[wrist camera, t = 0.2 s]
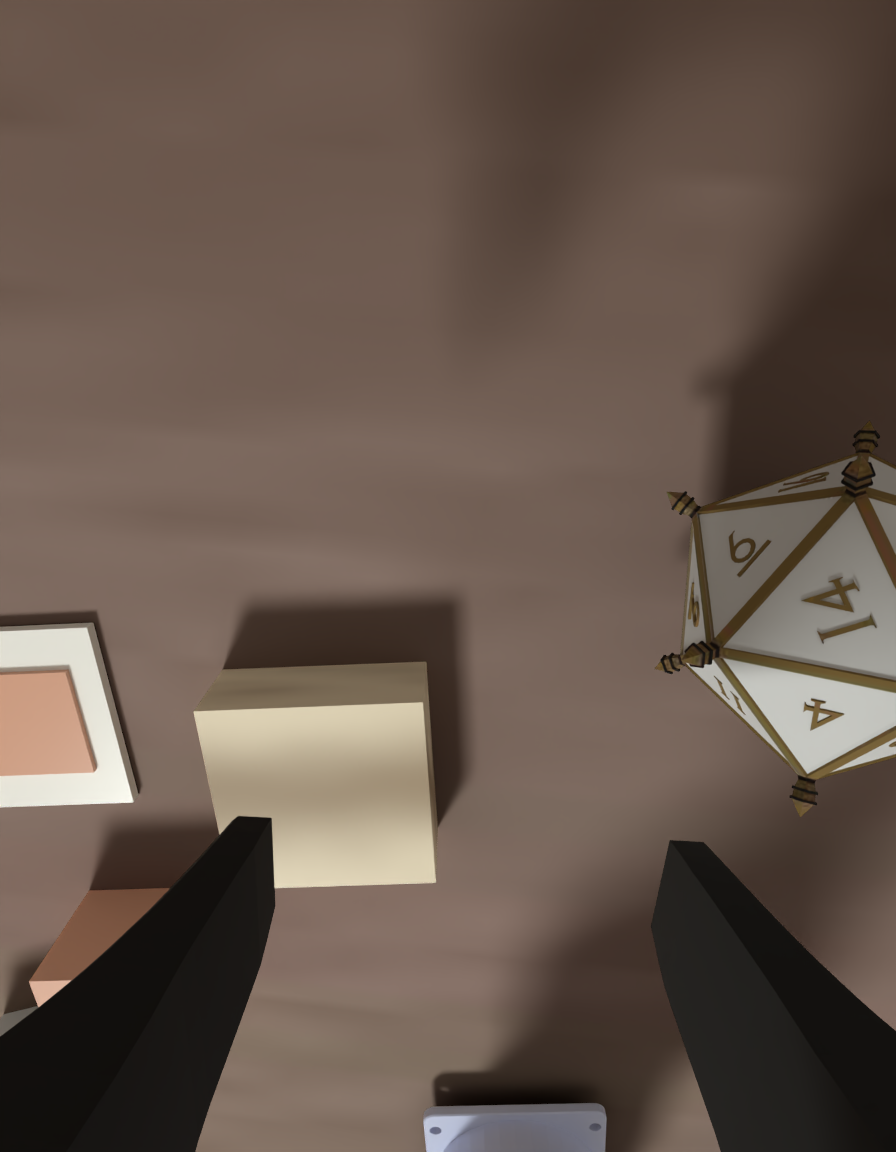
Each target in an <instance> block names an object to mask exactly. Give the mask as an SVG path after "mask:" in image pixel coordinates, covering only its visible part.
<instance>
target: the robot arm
mask: <svg viewBox="0 0 896 1152" xmlns="http://www.w3.org/2000/svg"><path fill="white" fill-rule="evenodd" d="M274 909H275V886H274V861H273V836H272V818H267V817H249V816H237V817H236V818H235V819H234V820H232V821H231V823H230V824H229V825H228V826H227V827H226V828H225V829H224V830H223V832H222V833H221V834H220V835H219V836H218V837H217V838H216V839H215V841H214V842H213V843H212V844H211V845H210V846H209V847H208V848H207V850H206V851H205V852H204V853H203V854H202V855H201V856H200V857H199V858H198V859H197V860H196V862H195V863H194V864H193V865H192V866H191V867H190V868H189V869H188V870H187V871H186V872H185V873H184V874H183V876H182V877H181V878H180V879H179V880H178V881H177V882H176V883H175V884H174V885H173V886H172V887H171V888H170V889H169V890H168V891H167V892H166V893H165V894H164V895H163V896H162V897H161V898H160V899H159V900H158V901H157V902H156V903H155V904H154V905H153V906H152V907H151V908H150V909H149V910H148V911H147V912H146V913H145V914H144V915H143V916H142V917H141V918H140V919H139V920H138V921H137V922H136V923H135V924H134V925H133V926H132V927H130V928H129V929H128V930H127V931H126V932H125V933H124V934H123V935H122V936H121V937H120V938H119V939H118V940H117V941H116V942H115V943H113V944H112V945H111V946H110V947H109V948H108V949H107V950H106V951H105V952H104V953H103V954H102V955H100V956H99V957H98V958H97V959H96V960H95V961H94V962H92V963H91V964H90V965H89V966H88V967H87V968H86V969H84V970H83V971H82V972H81V973H80V974H79V975H77V976H76V977H75V978H74V979H73V980H71V981H70V982H69V983H68V984H67V985H65V986H64V987H63V988H62V989H61V990H59V991H58V992H57V993H56V994H54V995H53V996H52V997H51V998H50V999H48V1000H47V1001H46V1002H45V1003H43V1004H42V1005H41V1006H40V1007H38V1008H37V1009H36V1010H34V1011H33V1012H32V1013H30V1014H29V1015H28V1016H26V1017H25V1018H24V1019H22V1020H21V1021H20V1022H19V1023H17V1024H16V1025H15V1026H13V1027H12V1028H11V1029H9V1030H8V1031H7V1032H5V1033H4V1034H3V1035H1V1036H0V1152H195V1150H196V1147H197V1143H198V1140H199V1137H200V1134H201V1131H202V1128H203V1124H204V1121H205V1118H206V1115H207V1112H208V1109H209V1106H210V1103H211V1101H212V1098H213V1095H214V1092H215V1090H216V1087H217V1084H218V1081H219V1079H220V1076H221V1073H222V1070H223V1068H224V1065H225V1062H226V1059H227V1057H228V1054H229V1051H230V1048H231V1046H232V1043H233V1040H234V1037H235V1035H236V1032H237V1029H238V1027H239V1024H240V1021H241V1018H242V1016H243V1013H244V1010H245V1007H246V1004H247V1002H248V999H249V996H250V993H251V991H252V988H253V985H254V982H255V979H256V976H257V974H258V971H259V968H260V965H261V961H262V957H263V953H264V950H265V946H266V942H267V938H268V934H269V929H270V925H271V921H272V917H273V913H274ZM651 928H652V933H653V938H654V942H655V947H656V952H657V956H658V961H659V965H660V969H661V973H662V978H663V982H664V986H665V989H666V992H667V995H668V998H669V1001H670V1004H671V1007H672V1010H673V1013H674V1016H675V1019H676V1022H677V1025H678V1028H679V1031H680V1034H681V1037H682V1039H683V1042H684V1045H685V1048H686V1051H687V1054H688V1057H689V1060H690V1062H691V1065H692V1068H693V1071H694V1074H695V1077H696V1080H697V1082H698V1085H699V1088H700V1091H701V1094H702V1097H703V1100H704V1102H705V1105H706V1108H707V1111H708V1114H709V1117H710V1120H711V1123H712V1125H713V1128H714V1131H715V1134H716V1137H717V1141H718V1144H719V1147H720V1150H721V1152H896V1031H895V1030H894V1029H893V1028H891V1027H890V1026H889V1025H888V1024H887V1023H885V1022H884V1021H883V1020H882V1019H881V1018H880V1017H878V1016H877V1015H876V1014H875V1013H874V1012H873V1011H872V1010H870V1009H869V1008H868V1007H867V1006H866V1005H865V1004H864V1003H862V1002H861V1001H860V1000H859V999H858V998H857V997H856V996H855V995H854V994H853V993H852V992H850V991H849V990H848V989H847V988H846V987H845V986H844V985H843V984H842V983H841V982H840V981H839V980H838V979H836V978H835V977H834V976H833V975H832V974H831V973H830V972H829V971H828V970H827V969H826V968H825V967H824V966H823V965H821V964H820V963H819V962H818V961H817V960H816V959H815V958H814V957H813V956H812V955H811V954H810V953H809V952H808V951H807V950H806V949H805V948H804V947H803V946H802V945H801V944H800V943H799V942H798V941H797V940H796V939H795V938H794V937H793V936H792V935H791V934H790V933H789V932H788V931H787V930H786V929H785V928H784V927H783V926H782V925H781V924H780V923H779V922H778V921H777V920H776V919H775V918H774V916H773V915H772V914H771V913H770V912H769V911H768V910H767V909H766V908H765V907H764V906H763V905H762V904H761V903H760V902H759V901H758V900H757V899H756V898H755V897H754V895H753V894H752V893H751V892H750V891H749V890H748V889H747V888H746V887H745V886H744V885H743V884H742V883H741V882H740V881H739V879H738V878H737V877H736V876H735V875H734V874H733V873H732V872H731V871H730V870H729V869H728V868H727V867H726V865H725V864H724V863H723V862H722V861H721V860H720V859H719V858H718V857H717V856H716V855H715V854H714V853H713V852H712V851H711V849H710V848H709V847H708V846H707V845H706V844H705V843H704V842H690V841H673V840H670V842H669V847H668V851H667V856H666V860H665V865H664V869H663V874H662V879H661V883H660V888H659V892H658V897H657V901H656V906H655V911H654V915H653V920H652V924H651ZM606 1120H607V1118H606V1113H605V1108H604V1107H603V1106H602V1105H600V1104H598V1103H566V1104H522V1105H477V1106H434V1107H430V1108H428V1109H426V1111H425V1112H424V1132H425V1142H426V1152H605V1142H606Z"/></svg>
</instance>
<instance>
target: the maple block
mask: <svg viewBox="0 0 896 1152" xmlns="http://www.w3.org/2000/svg"><path fill="white" fill-rule="evenodd" d="M194 716H195V721H196V725H197V730H198V735H199V740H200V744H201V749H202V754H203V759H204V763H205V768H206V773H207V778H208V782H209V787H210V792H211V797H212V801H213V806H214V811H215V816H216V820H217V825H218V830H219V835H220V834H221V833H222V832H223V830H224V829H225V828H226V827H227V826H228V825H229V824H230V823H231V821H232V820H234V819H235V818H236V817H237V816H249V817H267V818H272V836H273V861H274V886H275V888H293V887H323V886H353V885H384V884H414V883H436V865H437V833H438V825H437V810H436V796H435V781H434V766H433V752H432V737H431V723H430V708H429V694H428V679H427V664H426V662H402V663H377V664H351V665H326V666H300V667H275V668H249V669H224V670H222V671H221V673H220V674H219V676H218V677H217V678H216V680H215V681H214V683H213V684H212V686H211V687H210V689H209V690H208V691H207V693H206V694H205V696H204V697H203V699H202V700H201V701H200V703H199V704H198V706H197V707H196V709H195V710H194Z"/></svg>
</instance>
